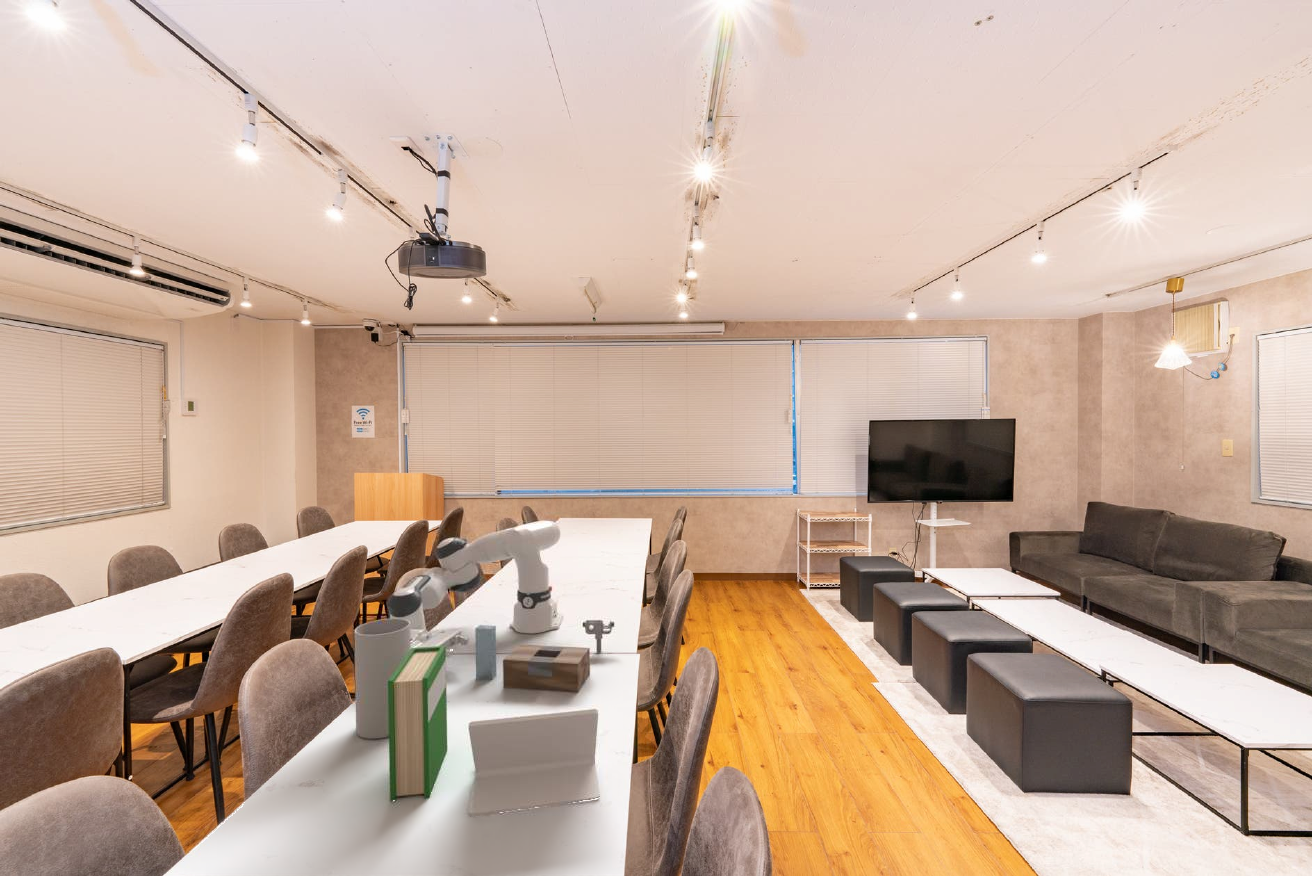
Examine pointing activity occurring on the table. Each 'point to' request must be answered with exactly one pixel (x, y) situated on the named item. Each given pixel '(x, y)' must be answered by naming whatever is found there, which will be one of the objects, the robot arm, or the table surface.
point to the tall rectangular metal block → (485, 652)
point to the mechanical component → (597, 630)
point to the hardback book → (417, 721)
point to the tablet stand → (533, 761)
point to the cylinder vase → (377, 671)
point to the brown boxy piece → (546, 668)
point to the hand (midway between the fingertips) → (460, 647)
